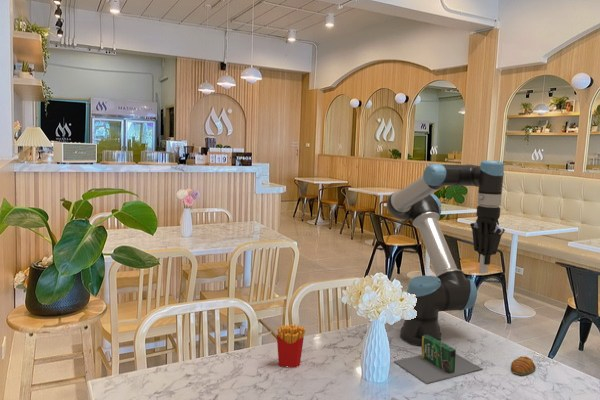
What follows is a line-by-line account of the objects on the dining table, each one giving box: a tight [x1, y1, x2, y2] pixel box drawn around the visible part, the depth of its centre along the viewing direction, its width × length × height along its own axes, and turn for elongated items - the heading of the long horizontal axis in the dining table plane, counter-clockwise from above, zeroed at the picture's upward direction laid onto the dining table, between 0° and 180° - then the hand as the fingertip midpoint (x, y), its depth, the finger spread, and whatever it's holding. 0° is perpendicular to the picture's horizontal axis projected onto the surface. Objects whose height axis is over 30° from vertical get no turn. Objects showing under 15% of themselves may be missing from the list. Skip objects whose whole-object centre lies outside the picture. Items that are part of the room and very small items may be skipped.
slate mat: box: [393, 353, 484, 385], centre depth 157 cm, size 16×24×1 cm, turn 117°
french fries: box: [276, 323, 306, 368], centre depth 153 cm, size 9×4×13 cm, turn 92°
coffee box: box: [421, 335, 457, 373], centre depth 156 cm, size 8×3×13 cm
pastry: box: [510, 355, 537, 376], centre depth 155 cm, size 9×7×4 cm
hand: (483, 272), depth 164 cm, fingers closed
